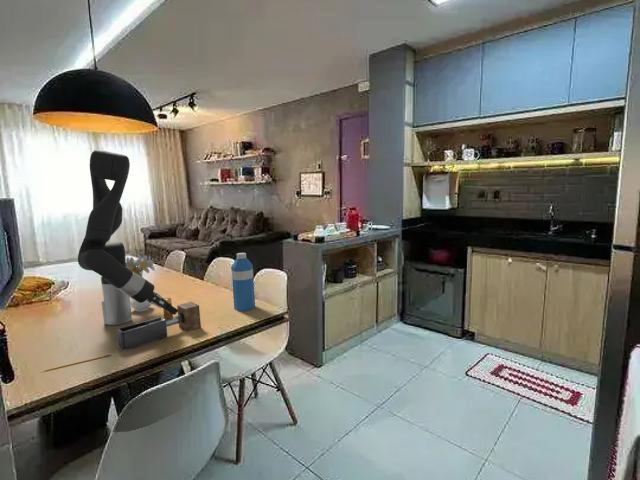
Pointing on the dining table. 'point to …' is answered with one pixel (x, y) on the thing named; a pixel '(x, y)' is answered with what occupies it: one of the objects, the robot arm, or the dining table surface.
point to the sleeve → (141, 333)
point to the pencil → (77, 363)
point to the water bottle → (243, 283)
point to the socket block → (189, 316)
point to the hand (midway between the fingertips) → (173, 311)
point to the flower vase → (144, 266)
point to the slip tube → (171, 316)
